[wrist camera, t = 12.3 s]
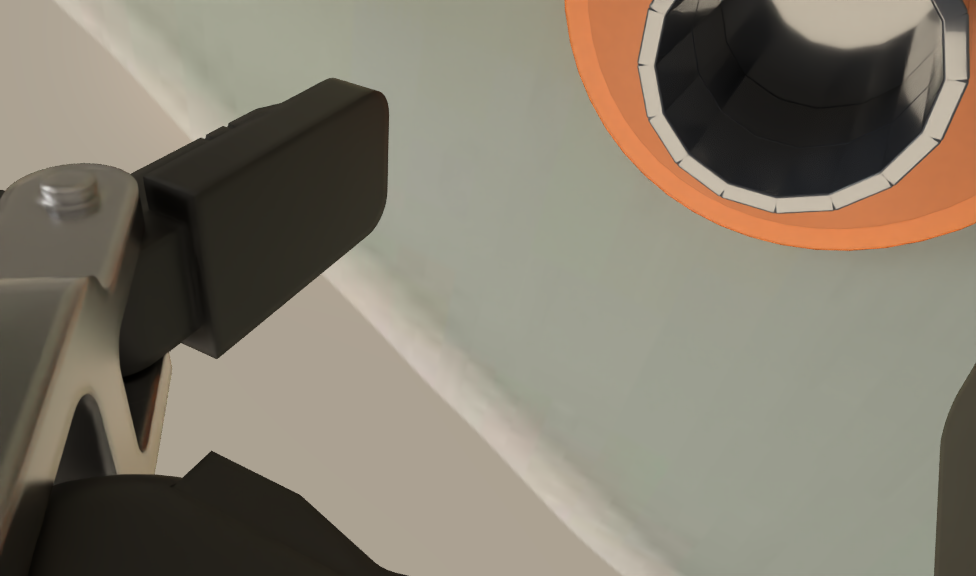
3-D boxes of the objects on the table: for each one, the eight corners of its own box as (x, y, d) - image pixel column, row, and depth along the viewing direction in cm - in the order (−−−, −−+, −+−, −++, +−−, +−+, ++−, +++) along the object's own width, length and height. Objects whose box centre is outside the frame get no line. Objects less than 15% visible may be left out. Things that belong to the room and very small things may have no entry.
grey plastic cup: (689, 82, 22) (616, 167, 18) (747, -157, 19) (673, -126, 14) (914, 140, 20) (893, 250, 16) (1023, -114, 17) (1035, -63, 13)
